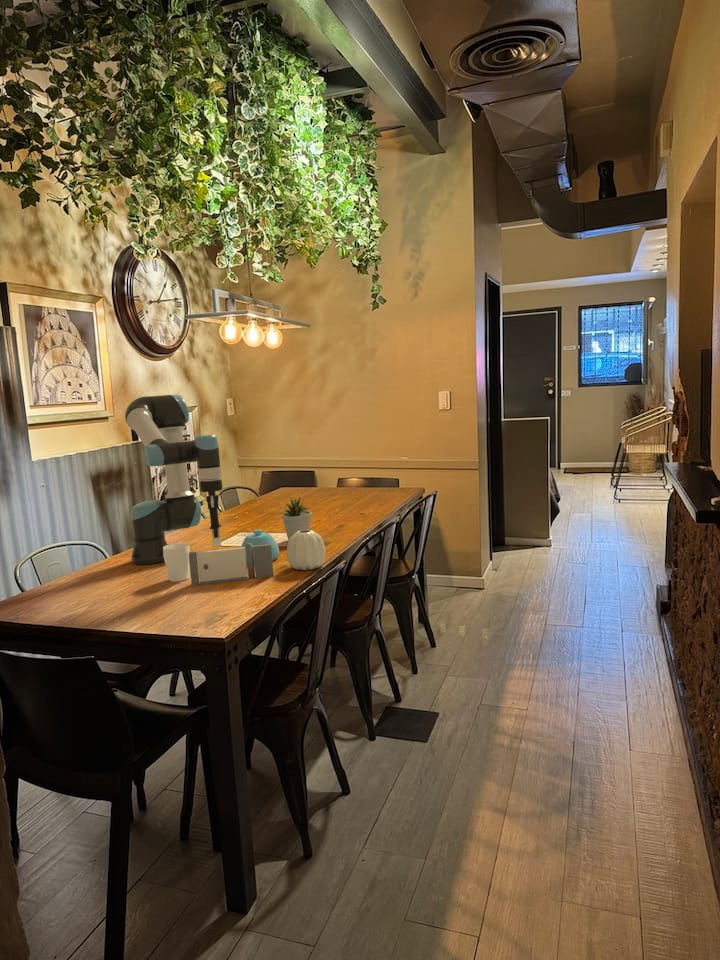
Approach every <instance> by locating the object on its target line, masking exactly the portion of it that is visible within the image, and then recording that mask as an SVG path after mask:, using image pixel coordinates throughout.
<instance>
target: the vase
mask: <svg viewBox="0 0 720 960" xmlns="http://www.w3.org/2000/svg"><path fill="white" fill-rule="evenodd" d="M326 553H327V552H326V547H325V543H324V539H323V538H322V535H320V534H319V533H317V532H316V531H314V530H312V529H310V530H300V531H297V532H296V533H295V534H293V535H292V536H291V537H290V538H289V540H288V541H287V548H286V558H287V562H288V563H289V565H290V566H291V567H292V568H293V569H295V570H296V571H297V570H298V571H308V570H309V571H310V570H313V569H318V568H319V567H322V565H323V563H324V562H325V561H326Z"/></svg>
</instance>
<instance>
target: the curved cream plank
mask: <svg viewBox="0 0 720 960" xmlns="http://www.w3.org/2000/svg"><path fill="white" fill-rule="evenodd" d="M196 554H197V564H198V574H199V583H200V582H201V581H210V580H219V579H227V578H236V577H245V576H247V577H248V566H247V563H246V555H245V547H235V548H234V547H233V548H225V549H224V548H223V549H216V550H215V549H214V550H207V551H198V552H197V551H196Z"/></svg>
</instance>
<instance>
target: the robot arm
mask: <svg viewBox="0 0 720 960" xmlns="http://www.w3.org/2000/svg"><path fill="white" fill-rule="evenodd" d="M124 419H125V422H126V424H127V426H128V427H129V428H130V429H131V430H132V431H135V434H136V435H137V437H138V438H139V440H140V441H141V443H142V445H143V446H144V452H143V455H144V461H145V463H146V465H147V466H149V467H163V466H164V472H165V479H166V486H167V493H166V495H165V496H164V502H162V500H161V499H152V500H146V501H142V502H139V503H136V504H135V505H133V506H132V507H131V510H130V515H131V516H130V519H131V524H132V526H131V527H132V532H133V533H132V534H133V549H132V551H131V552H132V553H131V557H130V558H131V563H132V564H133V565H139V566H145V565H155V564H159V563H163V562H164V563H165V560H164V556H163V547H164V546H166V545H169V544H168V543H167V540H166V538H165V535H166V534H165V532H171V531H178V530H183V529H189V528H194V527H196V526H198V525H199V523H200V521H201V518H202V506H201V501H200V499H199V498H198V497H195V493H194V492H193V491H191V488H190V481H189V475H188V474H189V473H188V465H187V464H188V463H194V462H195V463H197V468H198V470H197V471H196V474H197V475H198V479H199V480H200V481H199V489H200V492H201V493H208V495H207V496H206V503H207V509H208V510H209V518H210V527H209V530H211V537H212V538H211V539H212V548H218V547H222V540H221V531H220V528H221V527H222V524H220V521H219V520H220V519H219V512H218V511H219V495H218V494H216V492H219V491H222V490H223V480H222V479H221V478H223V477H222V476H223V475H222V468H221V460H220V449H219V447H220V446H219V445H220V444H219V439H218V436H217V435H216V434H199V435H196V436H195V438H194V439H192V440H187V441H184V434H183V432H184V430H185V428H186V424H187V423H189V421H190V413H189V407H188V404H187V402H186V400H185V399H184V398H183V396H181V395H179V394H166V395H165V394H164V395H153V396H151V395H150V396H149V395H147V396H140V397H138V398H136V399H134V400H132V402H130V404H128V406H127V408H126V409H125V414H124Z"/></svg>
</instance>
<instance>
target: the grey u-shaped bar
mask: <svg viewBox="0 0 720 960" xmlns="http://www.w3.org/2000/svg"><path fill="white" fill-rule="evenodd" d="M253 549H254V559H253ZM246 553H247V563H246V566H247V576H245V577H236V578H227V579H219V580H210V581H201V582H200V579H199V569H198V559H197V551H190V552H189V563H190V566H189V574H190V579H191V580H190V581H191V586H192V585H193V586H199V585H200V586H204V585H212V584H219V583H228V582H229V583H230V582H237V581H247V580H248V579H251V580H252V579H255V578H256V579H260V578H267V577H269V578H270V577H275V576H274V567H273V566H274V565H273V563H274V562H273V561H272V551H271V544H264V545H255V546H253V548H252V543H247V544H246ZM254 561H255V564H254ZM203 584H204V585H203Z"/></svg>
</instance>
